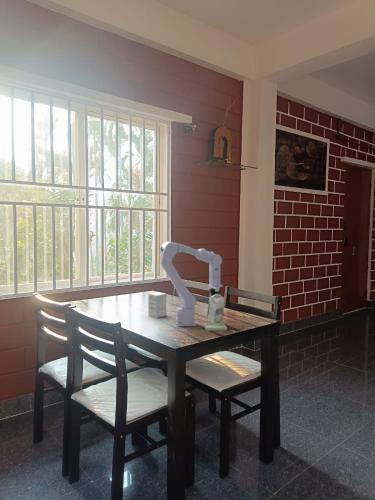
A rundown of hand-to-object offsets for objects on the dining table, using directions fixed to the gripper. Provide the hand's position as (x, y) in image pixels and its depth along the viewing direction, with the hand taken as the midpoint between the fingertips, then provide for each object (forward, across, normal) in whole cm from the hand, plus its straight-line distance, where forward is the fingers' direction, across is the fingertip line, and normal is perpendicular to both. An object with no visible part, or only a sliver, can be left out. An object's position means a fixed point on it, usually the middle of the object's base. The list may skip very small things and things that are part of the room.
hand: (214, 302), depth 191 cm
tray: (+10, -10, +2) cm, 15 cm away
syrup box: (+9, 0, 0) cm, 9 cm away
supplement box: (+10, +15, +30) cm, 35 cm away
